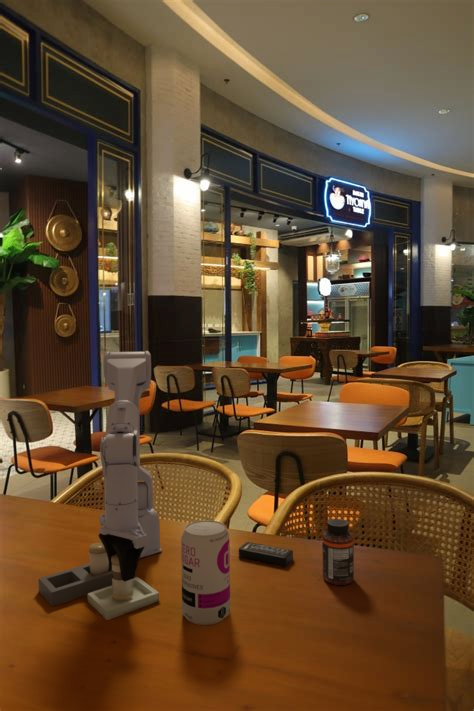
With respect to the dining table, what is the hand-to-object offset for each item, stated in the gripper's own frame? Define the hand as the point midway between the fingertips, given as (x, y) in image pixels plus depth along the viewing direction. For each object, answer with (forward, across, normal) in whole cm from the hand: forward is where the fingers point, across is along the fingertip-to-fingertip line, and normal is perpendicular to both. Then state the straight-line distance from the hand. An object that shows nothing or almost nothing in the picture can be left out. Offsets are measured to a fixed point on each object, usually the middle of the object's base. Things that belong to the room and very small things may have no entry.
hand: (122, 575), depth 96 cm
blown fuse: (+4, 0, 0) cm, 4 cm away
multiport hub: (+5, +3, +32) cm, 32 cm away
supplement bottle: (+5, +19, +36) cm, 41 cm away
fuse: (+5, -10, 0) cm, 11 cm away
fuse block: (+5, -10, -4) cm, 12 cm away
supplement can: (+5, +13, +9) cm, 17 cm away
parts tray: (+5, 0, 0) cm, 5 cm away
